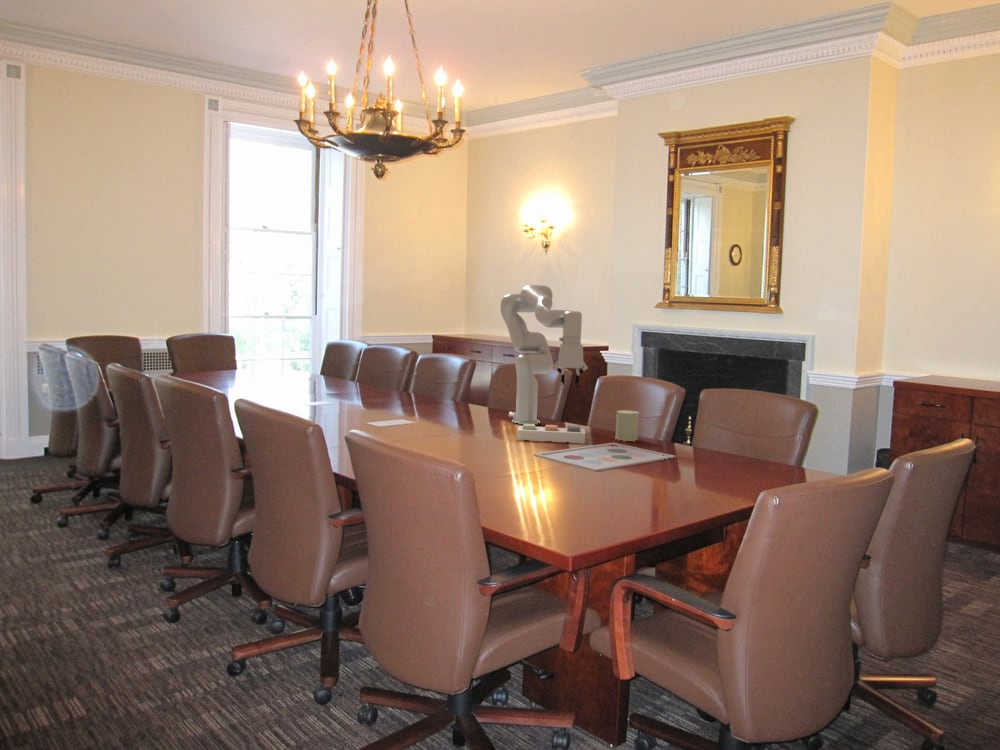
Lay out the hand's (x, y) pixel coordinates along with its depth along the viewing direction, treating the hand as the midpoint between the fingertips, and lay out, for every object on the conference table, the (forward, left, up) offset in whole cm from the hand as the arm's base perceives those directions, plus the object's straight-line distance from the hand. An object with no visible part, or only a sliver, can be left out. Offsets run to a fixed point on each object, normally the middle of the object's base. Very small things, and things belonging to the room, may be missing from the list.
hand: (569, 384), depth 350 cm
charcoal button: (+8, -11, -19) cm, 24 cm away
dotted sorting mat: (+32, -33, -22) cm, 51 cm away
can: (+24, +6, -22) cm, 33 cm away
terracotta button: (0, -15, -19) cm, 25 cm away
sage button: (-8, -19, -19) cm, 28 cm away
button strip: (0, -15, -21) cm, 26 cm away
